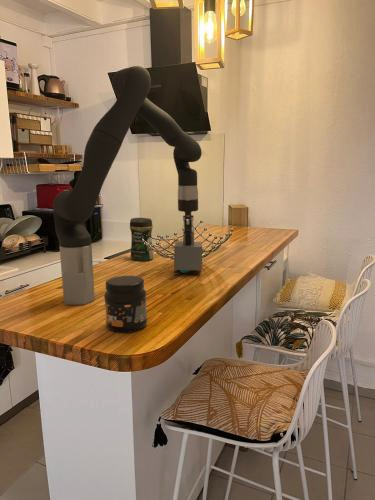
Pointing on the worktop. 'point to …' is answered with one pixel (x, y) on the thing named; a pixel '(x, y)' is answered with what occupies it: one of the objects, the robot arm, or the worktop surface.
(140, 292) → the supplement container
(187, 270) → the ball
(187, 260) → the gray stepped pedestal
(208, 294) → the worktop surface
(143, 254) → the coffee jar
